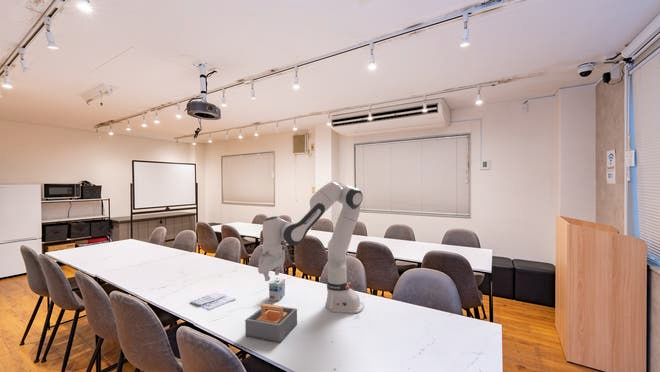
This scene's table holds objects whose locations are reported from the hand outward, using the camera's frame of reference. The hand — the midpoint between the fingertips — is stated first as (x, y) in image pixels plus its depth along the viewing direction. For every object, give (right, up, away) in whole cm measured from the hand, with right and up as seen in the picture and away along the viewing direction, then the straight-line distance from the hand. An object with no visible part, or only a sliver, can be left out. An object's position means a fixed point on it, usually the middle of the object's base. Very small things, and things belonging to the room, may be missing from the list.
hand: (272, 277), depth 137 cm
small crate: (0, -24, -2) cm, 24 cm away
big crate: (0, -25, -2) cm, 25 cm away
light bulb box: (-5, -26, +39) cm, 47 cm away
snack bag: (-44, -27, +34) cm, 61 cm away
